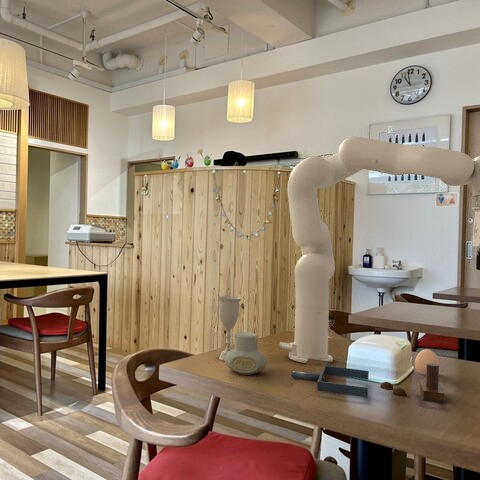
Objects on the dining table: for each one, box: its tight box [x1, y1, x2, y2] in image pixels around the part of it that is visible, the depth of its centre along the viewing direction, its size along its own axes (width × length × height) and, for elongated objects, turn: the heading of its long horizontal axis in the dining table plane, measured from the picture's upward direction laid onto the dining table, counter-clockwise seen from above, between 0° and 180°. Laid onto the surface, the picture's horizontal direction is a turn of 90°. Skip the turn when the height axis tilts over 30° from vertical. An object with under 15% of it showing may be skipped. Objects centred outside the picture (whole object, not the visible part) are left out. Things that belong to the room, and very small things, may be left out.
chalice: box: [217, 295, 242, 362], centre depth 142 cm, size 7×7×18 cm
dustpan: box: [290, 365, 370, 399], centre depth 116 cm, size 18×16×3 cm
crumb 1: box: [379, 381, 394, 391], centre depth 113 cm, size 3×3×3 cm
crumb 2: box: [392, 387, 408, 398], centre depth 108 cm, size 3×3×3 cm
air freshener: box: [224, 331, 268, 376], centre depth 128 cm, size 11×8×10 cm
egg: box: [414, 348, 441, 376], centre depth 127 cm, size 6×6×8 cm
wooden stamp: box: [419, 363, 446, 404], centre depth 107 cm, size 4×8×8 cm, turn 156°
